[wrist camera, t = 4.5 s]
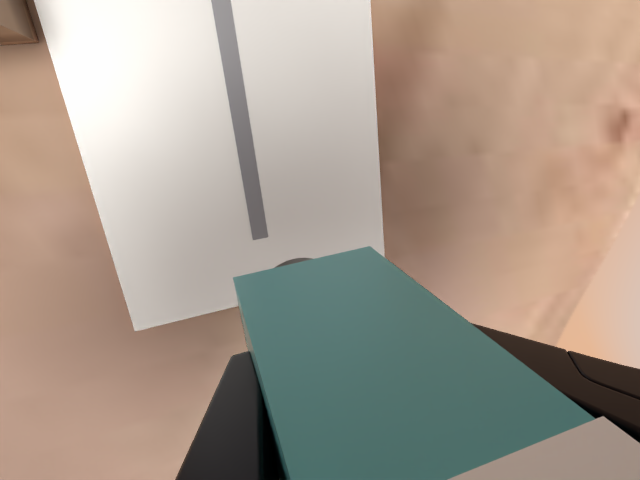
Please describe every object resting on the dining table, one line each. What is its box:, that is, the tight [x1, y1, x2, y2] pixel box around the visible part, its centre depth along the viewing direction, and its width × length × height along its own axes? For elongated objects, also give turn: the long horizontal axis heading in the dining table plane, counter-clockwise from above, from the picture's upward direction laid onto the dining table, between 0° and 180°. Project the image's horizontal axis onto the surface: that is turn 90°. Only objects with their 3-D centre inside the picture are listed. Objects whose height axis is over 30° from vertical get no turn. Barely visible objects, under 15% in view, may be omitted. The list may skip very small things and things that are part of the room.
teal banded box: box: [233, 246, 640, 480], centre depth 7 cm, size 3×3×8 cm
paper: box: [34, 0, 385, 331], centre depth 17 cm, size 16×12×1 cm
